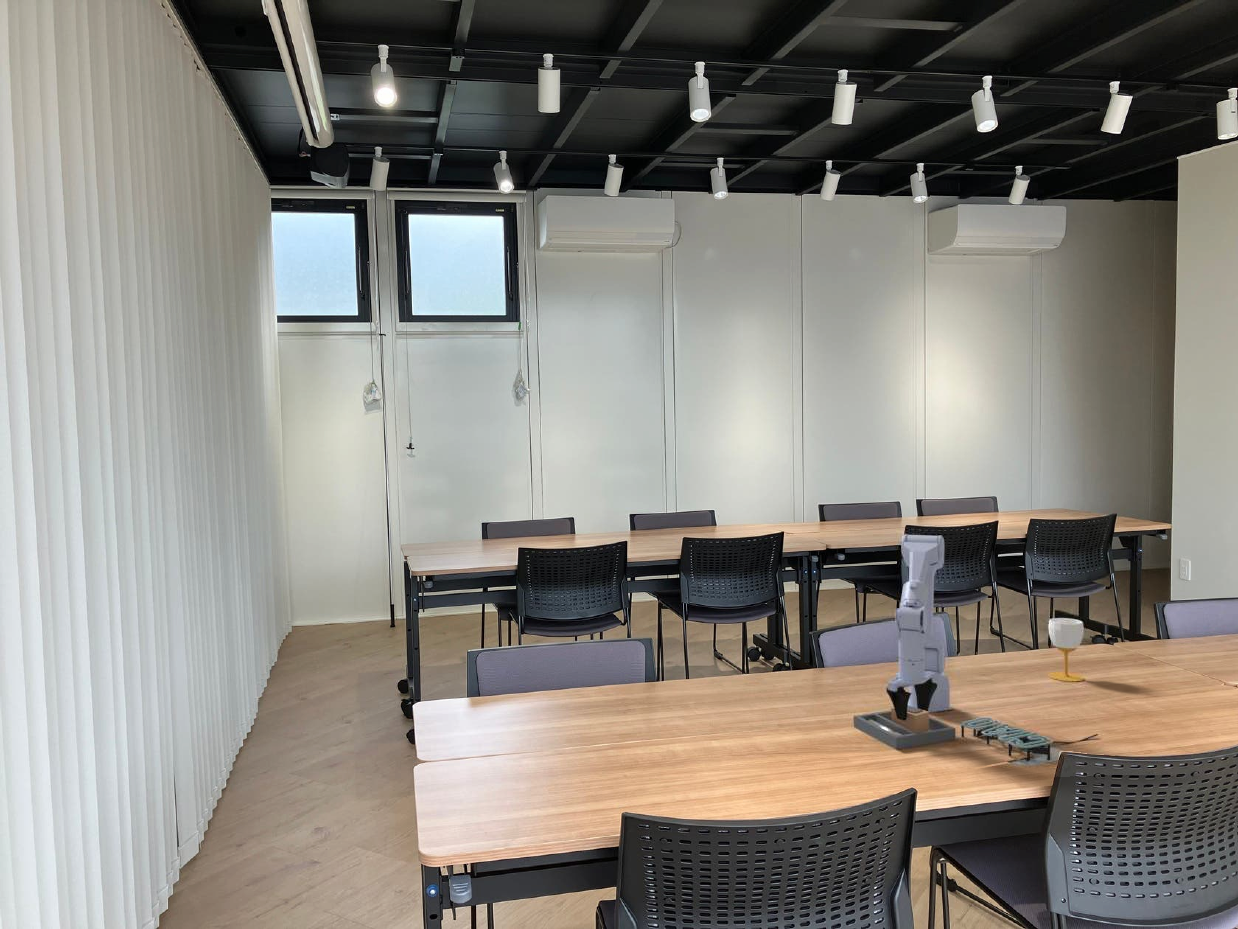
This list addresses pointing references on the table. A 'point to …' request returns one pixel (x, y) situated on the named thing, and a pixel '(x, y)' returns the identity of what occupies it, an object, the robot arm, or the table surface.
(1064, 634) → the cup
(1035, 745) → the neon sign
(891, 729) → the rod
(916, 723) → the block
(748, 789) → the table surface
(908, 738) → the grey divided tray
